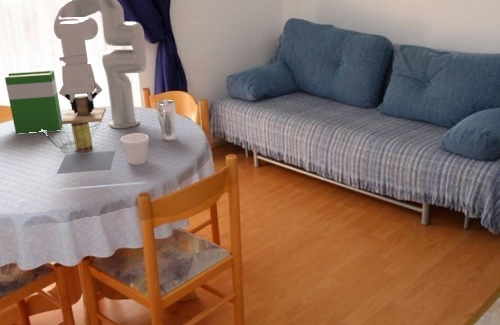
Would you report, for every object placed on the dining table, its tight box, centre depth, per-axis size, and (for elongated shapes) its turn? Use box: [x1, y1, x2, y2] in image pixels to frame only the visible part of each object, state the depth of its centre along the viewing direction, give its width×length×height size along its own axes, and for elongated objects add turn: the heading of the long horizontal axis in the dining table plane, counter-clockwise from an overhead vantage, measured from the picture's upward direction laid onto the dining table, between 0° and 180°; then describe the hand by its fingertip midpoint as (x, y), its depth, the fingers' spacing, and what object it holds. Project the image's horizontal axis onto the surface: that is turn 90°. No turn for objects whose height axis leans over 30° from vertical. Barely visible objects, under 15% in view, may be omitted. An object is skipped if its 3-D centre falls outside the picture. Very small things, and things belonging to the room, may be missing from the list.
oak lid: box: [61, 95, 107, 125], centre depth 199 cm, size 13×13×7 cm
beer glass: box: [156, 99, 178, 143], centre depth 224 cm, size 7×7×15 cm
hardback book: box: [4, 70, 64, 135], centre depth 238 cm, size 18×7×24 cm, turn 99°
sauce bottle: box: [69, 101, 93, 152], centre depth 215 cm, size 7×6×20 cm
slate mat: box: [56, 150, 116, 174], centre depth 206 cm, size 18×18×1 cm
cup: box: [120, 132, 150, 165], centre depth 204 cm, size 10×10×9 cm
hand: (83, 111), depth 199 cm, fingers closed on oak lid, 4 cm apart
